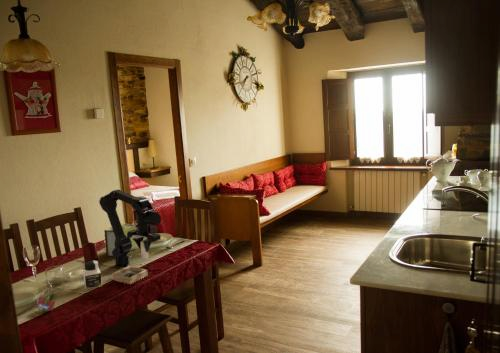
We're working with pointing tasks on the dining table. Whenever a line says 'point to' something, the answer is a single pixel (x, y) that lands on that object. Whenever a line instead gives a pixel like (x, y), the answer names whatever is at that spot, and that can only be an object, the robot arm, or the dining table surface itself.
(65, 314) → the dining table surface
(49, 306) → the geometric puzzle
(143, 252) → the peg
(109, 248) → the protein box
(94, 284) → the medicine bottle
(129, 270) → the crate
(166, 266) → the dining table surface
